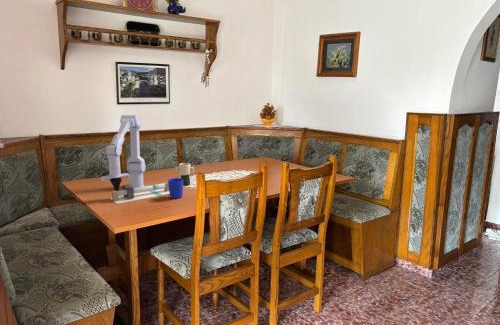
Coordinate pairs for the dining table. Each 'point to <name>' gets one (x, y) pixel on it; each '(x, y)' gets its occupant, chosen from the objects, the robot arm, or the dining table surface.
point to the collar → (129, 191)
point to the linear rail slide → (119, 198)
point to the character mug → (185, 172)
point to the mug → (175, 187)
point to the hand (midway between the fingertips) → (116, 191)
